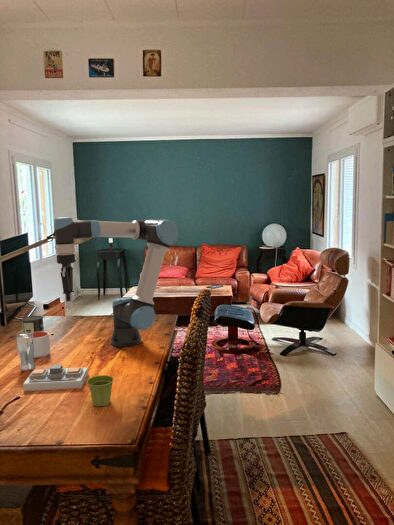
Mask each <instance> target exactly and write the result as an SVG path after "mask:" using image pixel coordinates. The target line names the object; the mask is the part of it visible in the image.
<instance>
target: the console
mask: <svg viewBox="0 0 394 525" xmlns="http://www.w3.org/2000/svg"><path fill="white" fill-rule="evenodd" d="M70 368H71V367H67V368H66V367H65V368H63V369H62V370H61V372H52V373H50V368H49V369H48V368H47V369H45V368H44V369H45V373H44V374H43V375H32V373H33V372H34V370H35V369H33V371H31V373H30V374H29V376H28V377H27V378H26V380H25V381H24V382H23V384H22V385H23V391H24V392H32V391H33V392H34V391H49V390H51V391H53V390H69V389H82V388H83V386H84V383H85V381H86V379H87V377H88V375H89V367H85V366H84V367H80V372H79V373H68V371H69V369H70Z"/></svg>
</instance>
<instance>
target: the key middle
mask: <svg viewBox="0 0 394 525" xmlns="http://www.w3.org/2000/svg"><path fill="white" fill-rule="evenodd" d="M63 367H64V366H63V364H52V365H51V366H50V368H49V369H50V373H52V372H61V370H62V369H63Z"/></svg>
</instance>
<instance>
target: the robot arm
mask: <svg viewBox="0 0 394 525" xmlns="http://www.w3.org/2000/svg"><path fill="white" fill-rule="evenodd" d="M53 222H54V223H53V231H54V239H55V246H54V249H56V250H55V251H56V263H57V264H58V265H61V268H60V278H61V283H62V285H61V286H62V289H63V292H62V294H64V296H65V297H64V298H65V308H66V309H73V308H74V299H73V293H74V292H75V290H74V274H73V273H74V267H73V266H72V264H74V263H75V262H76V255H75V252H76V249H75V240H77V239H93V238H131V239H132V240H138V241H145V242H146V245H147V252H146V255H145V258H144V262H143V266H142V270H141V274H140V277H139V281H138V285H137V287H136V289H135V290H136V291H135V295H133V296H125V297H119V298H118V297H117V298H114V299H113V300H112V315H113V329H112V330H113V331H112V335H111V339H110V340H111V345H112V346H114V347H119V348H121V347H122V348H126V347H133V346H137V345H139V344H140V343H142V336H141V333H140V330H142V331H143V330H147V329H149V328H150V327H152V326H153V324H154V323H155V320H156V312H155V310H154V307H155V302H154V296H155V292H156V288H157V284H158V282H159V281H158V280H159V278H160V273H161V270H162V267H163V262H164V259H165V255H166V252H168V251H170V249H171V246H172V244H174V243H176V241H177V240H178V237H179V230H178V227H177V225H176V223H175V222H173V221H171V220H170V219H165V218H161V219H158V218H157V219H156V218H150V219H143V220H142V219H141V220H134V219H133V220H132V221H131V222H130V221H108V220H107V221H104V220H94V219H93V220H91V219H90V220H84V219H83V220H82V219H81V220H80V219H73V218H72V217H71V216H69V217H68V216H66V217H64V216H63V217H56V218H54V221H53Z"/></svg>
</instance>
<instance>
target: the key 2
mask: <svg viewBox="0 0 394 525" xmlns="http://www.w3.org/2000/svg"><path fill="white" fill-rule="evenodd" d="M69 368H70V369H69V371H68V373H79V372H80V368H81V366H80V367H77V366H76V367H69Z"/></svg>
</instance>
